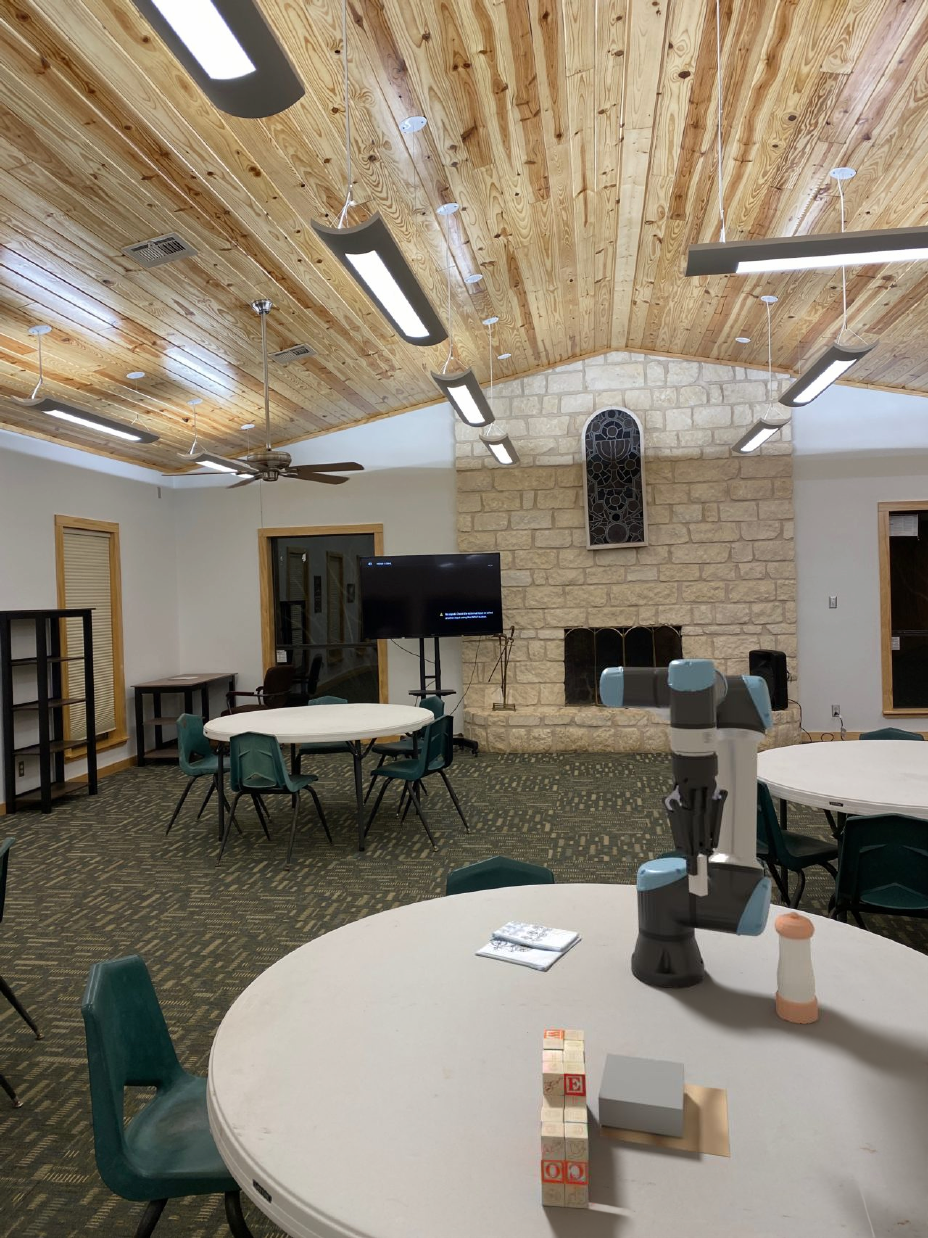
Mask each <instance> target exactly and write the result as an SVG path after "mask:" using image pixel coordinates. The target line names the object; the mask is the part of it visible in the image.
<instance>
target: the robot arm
mask: <svg viewBox="0 0 928 1238" xmlns="http://www.w3.org/2000/svg"><path fill="white" fill-rule="evenodd" d="M715 667H716V666H715V663H714V661H712V660H711V659H705V658H684V659H681V658H680V659H674V660H672V661H671V662H669V665H668V667H665V666H664V667H639V666H638V667H635V666H634V667H632V666H631V667H629V666H628V667H627V666H626V667H623V666H618V667H607V668H605V669H604V670H603V671H602V673H601V676H600V680H599V694H600V699H601V702H602V704H603V705H604V706H606V707H607V708H617V709H623V708H624V709H625V708H626V709H636V710H642V711H647V712H651V713H653V714H655V715H656V716H657V717H659V718H660V719H663V720H667V721H669V726H670V728H669V730H670V731H669V732H670V733H669V734H670V735H669V736H670V749H671V750H672V751H673V752H672V754H670V763H671V764H670V765H671V767H670V768H671V769H670V771H671V774H672V775H673V777H674V783H673V787H672V790H673V791H672V793H671V794H670V795H669V796H663V797H662V799H661V803H662V804H663V806H664V808H665V809H666V813H667V817H668V822H669V826H670V831H671V835H672V840H673V844H674V849H675V851H676V852H678V853H681V854H684V855H685V858H681V857H664V858H657V859H653V860H650V861H647V862H644V863H643V864H642V865H641V866H640V867H639V868H638V870H637V877H636V882H637V883H636V885H635V888H636V896H637V897H636V898H637V920H638V921H637V925H638V926H637V927H638V934H637V938H636V942H635V945H634V951H633V952H632V955H631V959H630V964H631V965H630V968H631V972H632V974H633V975H634V976H635V977H636V978H637V979H639V980H640V981H642V982H644V983H646V984H650V985H652V986H656V987H657V986H658V987H664V988H687V987H690V986H694V985H697V984H699V983H700V982H702V981H703V980H704V979H705V975H706V972H705V962H704V959H703V958H702V954H701V951H700V947H699V945H698V942H697V939H696V933H695V931H696V930H695V929H698V930H702V931H703V930H704V931H710V932H711V931H712V932H719V933H724V934H731V935H736V936H746V937H747V936H749V937H759V936H761V934H763V933H764V932H765V929H766V927H767V922H768V918H769V914H770V908H771V902H772V901H771V900H772V887H773V886H772V884H773V883H772V879H771V878H769V877H767V876H765V873H764V871H765V870H764V869H765V868H764V867H763V866H762V864H761V863H760V862H759V861H758V859H757V818H758V817H757V813H758V807H757V806H758V805H757V804H758V750H759V749H758V747H759V744H760V743H761V742H763V741H764V740H765V738H766V731H770V730H772V729H773V727H774V721H773V720H774V719H773V711H772V704H771V697H770V693H769V688H768V684H767V682H766V680H765V679H764V678H763V677H761V676H757V675H745V674H740V675H739V674H736V675H735V674H734V675H731V674H729V675H725V674H723V673H722V672H721V670H720V669H717V668H715Z"/></svg>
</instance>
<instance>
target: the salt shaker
mask: <svg viewBox="0 0 928 1238" xmlns="http://www.w3.org/2000/svg"><path fill="white" fill-rule="evenodd" d="M773 926H774V928H775V931H776V933H777V934H778V939H779V940H778V947H779V948H778V949H779V951H778V953H779V956H778V962H777V971H776V982H777V983H776V986H777V990H776V992H775V1012H776V1014H777V1015H778V1016H779V1018H781V1019H783V1020H785V1019H786V1020H785V1021H787V1020H788V1022H790V1023H794V1022H795V1024H800V1023H802V1025H806V1024H807V1023H808V1024H811V1023H812V1022H813V1023H815V1022H817V1020H818V1019H819V1010H818V1001H819V1000H818V997H817V995H816V979H815V974H814V967H813V962H812V953H811V952H812V951H811V950H812V949H811V938H812V937H813V935H814V933H815V931H816V930H815V926H814V923H813V922H812V921H811V919H809V918H808V917H806V916H803V915H802V914H798V912H796V911H790V912H789V913H784V914H781V915H778V916H777V918H776V919H775V920H774V922H773ZM813 1023H812V1024H813Z"/></svg>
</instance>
